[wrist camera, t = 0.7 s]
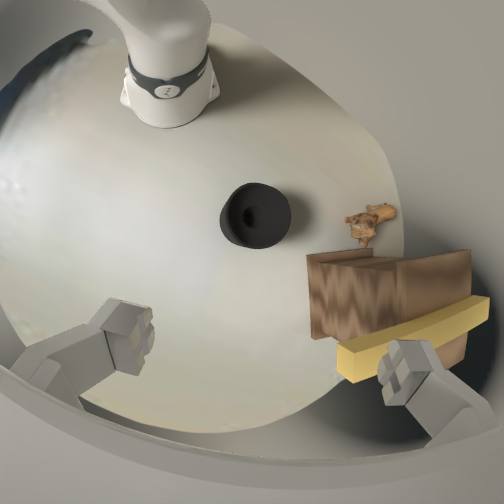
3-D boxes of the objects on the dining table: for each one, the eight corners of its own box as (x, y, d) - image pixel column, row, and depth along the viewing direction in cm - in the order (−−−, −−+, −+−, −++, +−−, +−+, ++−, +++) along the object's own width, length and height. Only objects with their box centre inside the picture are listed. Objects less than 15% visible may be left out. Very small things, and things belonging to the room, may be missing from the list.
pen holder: (239, 259, 49) (253, 262, 39) (205, 215, 47) (211, 208, 38) (280, 226, 50) (303, 221, 41) (248, 183, 49) (264, 169, 39)
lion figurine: (343, 250, 54) (370, 250, 45) (330, 226, 53) (356, 223, 44) (389, 213, 56) (417, 209, 47) (378, 192, 55) (406, 185, 47)
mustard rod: (336, 343, 25) (354, 353, 22) (473, 295, 30) (489, 297, 27) (336, 371, 25) (352, 383, 22) (472, 315, 30) (487, 318, 27)
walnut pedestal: (306, 255, 52) (406, 262, 26) (367, 248, 55) (470, 249, 30) (311, 337, 52) (398, 395, 27) (369, 323, 55) (463, 358, 30)
